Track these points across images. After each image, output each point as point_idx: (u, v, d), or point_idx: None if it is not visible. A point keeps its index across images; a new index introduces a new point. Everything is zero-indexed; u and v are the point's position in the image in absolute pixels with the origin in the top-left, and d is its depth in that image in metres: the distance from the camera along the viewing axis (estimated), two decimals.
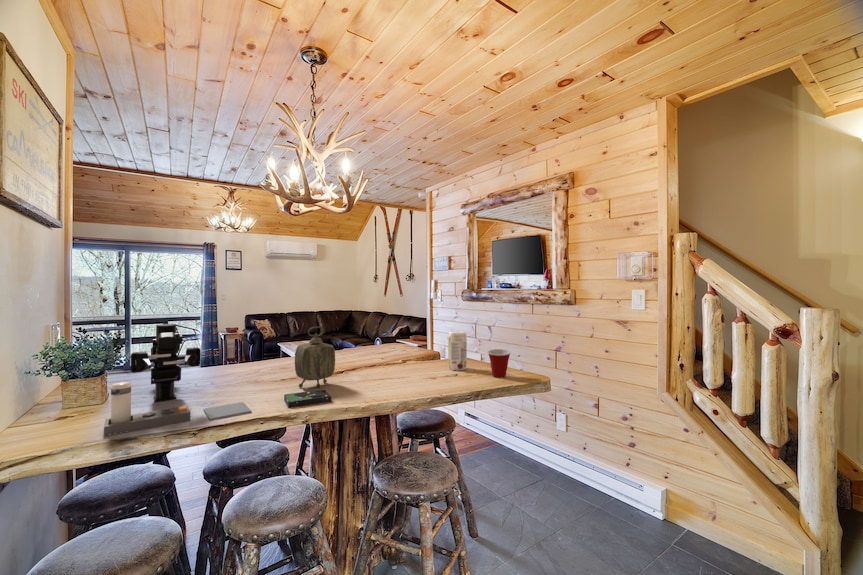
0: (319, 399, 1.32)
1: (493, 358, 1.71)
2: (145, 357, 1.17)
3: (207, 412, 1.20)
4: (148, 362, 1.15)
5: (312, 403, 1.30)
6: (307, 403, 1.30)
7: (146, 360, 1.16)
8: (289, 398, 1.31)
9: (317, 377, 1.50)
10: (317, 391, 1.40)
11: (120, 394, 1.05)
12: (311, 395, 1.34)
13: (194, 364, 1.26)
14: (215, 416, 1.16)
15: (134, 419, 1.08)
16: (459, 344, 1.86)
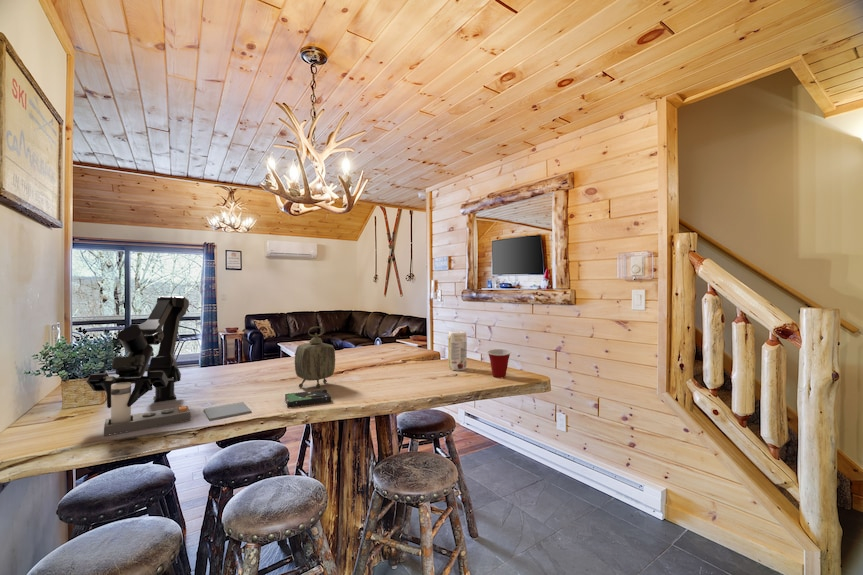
0: (319, 399, 1.31)
1: (493, 358, 1.71)
2: (109, 386, 1.07)
3: (207, 412, 1.20)
4: (108, 399, 1.06)
5: (311, 403, 1.30)
6: (306, 403, 1.29)
7: (108, 393, 1.07)
8: (289, 398, 1.31)
9: (317, 377, 1.50)
10: (318, 391, 1.39)
11: (120, 394, 1.05)
12: (311, 395, 1.34)
13: (150, 389, 1.13)
14: (215, 416, 1.16)
15: (134, 419, 1.08)
16: (459, 344, 1.86)
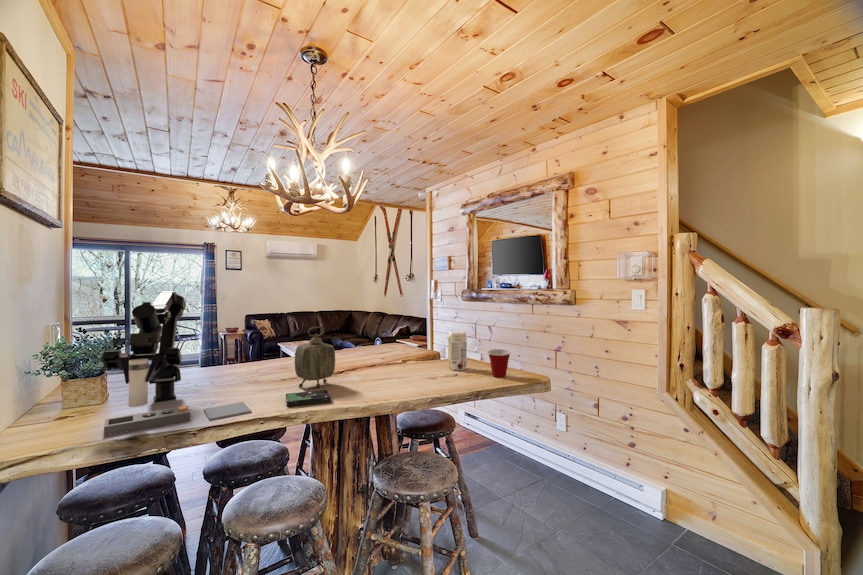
0: (318, 399, 1.31)
1: (493, 358, 1.71)
2: (125, 363, 1.08)
3: (207, 412, 1.20)
4: (126, 375, 1.06)
5: (311, 403, 1.30)
6: (306, 403, 1.29)
7: (125, 369, 1.07)
8: (289, 398, 1.31)
9: (317, 377, 1.50)
10: (319, 391, 1.39)
11: (139, 369, 1.07)
12: (312, 395, 1.34)
13: (164, 366, 1.15)
14: (215, 416, 1.16)
15: (134, 419, 1.08)
16: (459, 344, 1.86)
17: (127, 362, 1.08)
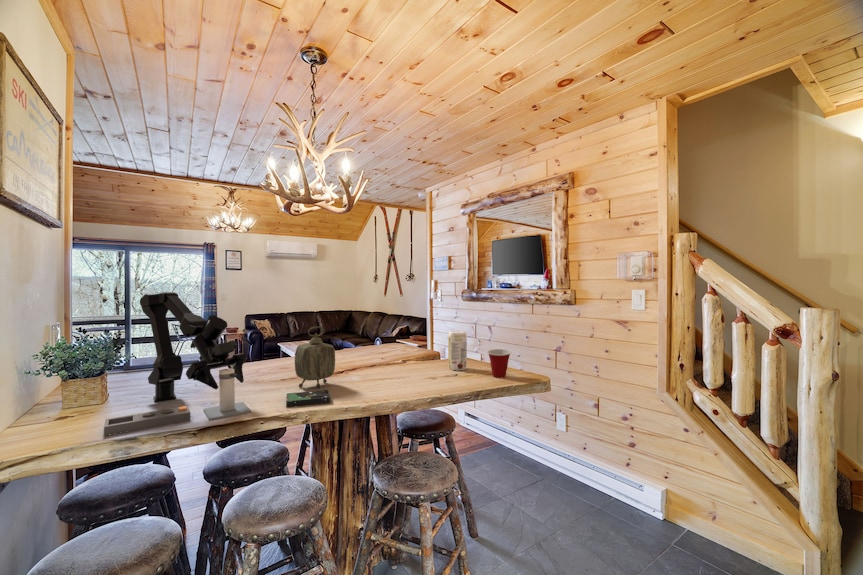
0: (318, 400, 1.31)
1: (493, 358, 1.71)
2: (208, 371, 1.18)
3: (207, 412, 1.20)
4: (214, 382, 1.18)
5: (310, 403, 1.30)
6: (305, 403, 1.29)
7: (211, 377, 1.18)
8: (289, 397, 1.31)
9: (317, 377, 1.50)
10: (319, 391, 1.39)
11: (233, 377, 1.23)
12: (312, 396, 1.34)
13: None
14: (215, 416, 1.16)
15: (134, 419, 1.08)
16: (459, 344, 1.86)
17: (209, 371, 1.18)
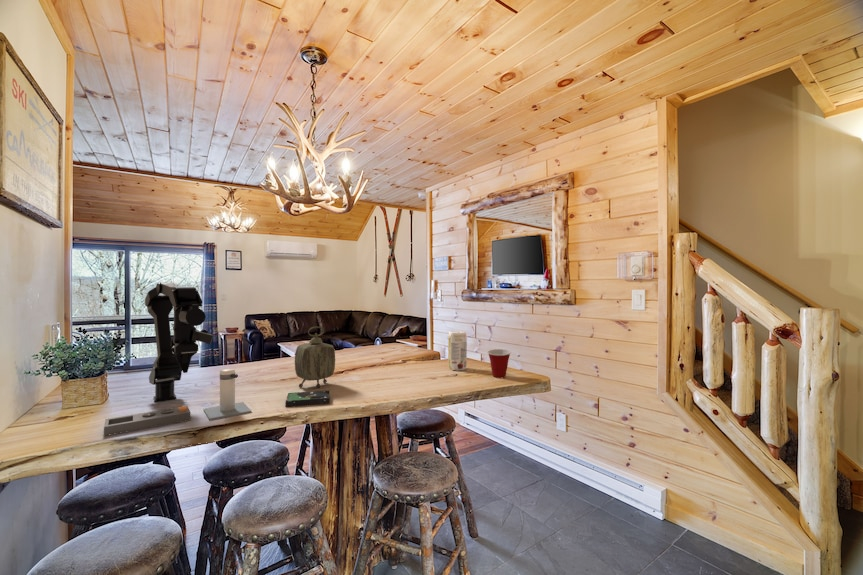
0: (317, 400, 1.30)
1: (493, 358, 1.71)
2: None
3: (207, 412, 1.20)
4: (188, 366, 1.22)
5: (310, 404, 1.30)
6: (304, 403, 1.29)
7: None
8: (289, 397, 1.32)
9: (317, 377, 1.50)
10: (320, 392, 1.39)
11: (234, 377, 1.23)
12: (312, 396, 1.33)
13: (173, 348, 1.29)
14: (215, 416, 1.16)
15: (134, 419, 1.08)
16: (459, 344, 1.86)
17: None
